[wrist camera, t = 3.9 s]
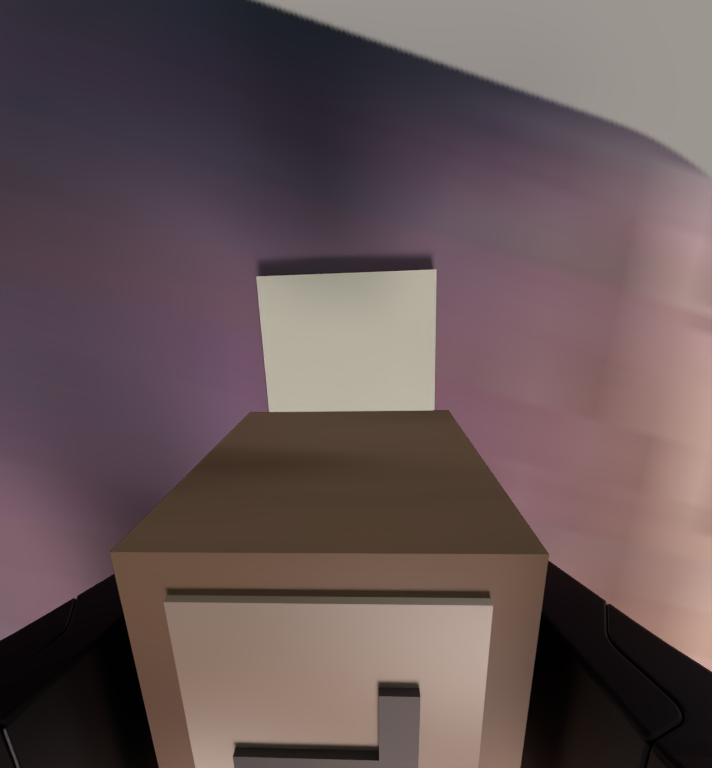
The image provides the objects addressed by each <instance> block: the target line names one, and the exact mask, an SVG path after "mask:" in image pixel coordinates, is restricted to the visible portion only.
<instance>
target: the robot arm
mask: <svg viewBox="0 0 712 768" xmlns="http://www.w3.org/2000/svg"><path fill="white" fill-rule="evenodd" d="M0 768H159V766H158V761H157V757H156V753H155V748H154V744H153V740H152V735H151V731H150V726H149V722H148V718H147V713H146V709H145V705H144V700H143V696H142V691H141V687H140V683H139V678H138V674H137V670H136V665H135V661H134V656H133V652H132V648H131V643H130V639H129V635H128V630H127V626H126V621H125V617H124V613H123V608H122V604H121V600H120V595H119V591H118V586H117V582H116V578H115V574H113V575H111V576H110V577H108V578H106V579H105V580H103V581H101V582H100V583H98V584H96V585H95V586H93V587H91V588H90V589H88V590H86V591H85V592H83V593H81V594H80V595H78V596H77V599H75V598H73V599H71V600H70V601H68V602H66V603H65V604H63V605H61V606H60V607H58V608H56V609H55V610H53V611H51V612H50V613H48V614H46V615H45V616H43V617H41V618H39V619H38V620H36V621H34V622H32V623H31V624H29V625H27V626H26V627H24V628H22V629H20V630H19V631H17V632H15V633H13V634H12V635H10V636H8V637H6V638H4V639H3V640H1V641H0ZM520 768H712V672H711V671H710V670H708V669H707V668H705V667H703V666H702V665H700V664H699V663H697V662H696V661H694V660H692V659H691V658H689V657H688V656H686V655H685V654H683V653H682V652H680V651H678V650H677V649H675V648H674V647H672V646H671V645H669V644H668V643H666V642H665V641H663V640H662V639H660V638H659V637H657V636H656V635H654V634H653V633H651V632H650V631H648V630H647V629H645V628H644V627H643V626H641V625H640V624H638V623H637V622H635V621H634V620H632V619H631V618H629V617H628V616H627V615H625V614H624V613H622V612H621V611H619V610H618V609H617V608H615V607H614V606H612V605H611V604H607V603H606V601H605V600H604V599H602V598H601V597H599V596H598V595H597V594H595V593H594V592H592V591H591V590H589V589H588V588H587V587H585V586H584V585H582V584H581V583H580V582H578V581H577V580H575V579H574V578H572V577H571V576H570V575H568V574H567V573H565V572H564V571H563V570H561V569H560V568H558V567H557V566H555V565H554V564H553V563H551V562H550V561H548V566H547V574H546V581H545V589H544V596H543V603H542V611H541V618H540V626H539V633H538V641H537V648H536V655H535V663H534V670H533V678H532V685H531V693H530V700H529V707H528V715H527V722H526V730H525V737H524V745H523V752H522V760H521V767H520Z"/></svg>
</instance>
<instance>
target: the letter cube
mask: <svg viewBox="0 0 712 768" xmlns="http://www.w3.org/2000/svg"><path fill="white" fill-rule="evenodd" d="M110 556H111V560H112V565H113V569H114V573H115V578H116V582H117V586H118V591H119V595H120V600H121V604H122V608H123V613H124V617H125V621H126V626H127V630H128V635H129V639H130V643H131V648H132V652H133V656H134V661H135V665H136V670H137V674H138V678H139V683H140V687H141V691H142V696H143V700H144V705H145V709H146V713H147V718H148V722H149V726H150V731H151V735H152V740H153V744H154V748H155V753H156V757H157V761H158V766H159V768H520V767H521V760H522V752H523V745H524V737H525V730H526V722H527V715H528V707H529V700H530V693H531V685H532V678H533V670H534V663H535V655H536V648H537V641H538V633H539V626H540V618H541V611H542V603H543V596H544V589H545V581H546V574H547V566H548V559H549V554H548V552H547V551H546V549H545V548H544V546H543V545H542V544H541V542H540V541H539V539H538V538H537V536H536V535H535V534H534V532H533V531H532V529H531V528H530V526H529V525H528V524H527V522H526V521H525V519H524V518H523V516H522V515H521V514H520V512H519V511H518V509H517V508H516V506H515V505H514V503H513V502H512V501H511V499H510V498H509V496H508V495H507V493H506V492H505V491H504V489H503V488H502V486H501V485H500V483H499V482H498V481H497V479H496V478H495V476H494V475H493V473H492V472H491V471H490V469H489V468H488V466H487V465H486V463H485V462H484V461H483V459H482V458H481V456H480V455H479V453H478V452H477V450H476V449H475V448H474V446H473V445H472V443H471V442H470V440H469V439H468V438H467V436H466V435H465V433H464V432H463V430H462V429H461V428H460V426H459V425H458V423H457V422H456V420H455V419H454V418H453V416H452V415H451V413H450V412H449V410H426V411H324V412H250V413H249V414H248V415H247V416H246V417H245V418H244V419H243V420H242V421H241V422H240V423H239V424H238V425H237V426H236V427H235V428H234V429H233V430H232V431H231V432H230V433H229V434H228V435H227V436H226V437H225V438H224V439H223V440H222V441H221V442H220V443H219V444H218V445H217V446H216V447H215V448H214V449H213V450H212V451H211V452H210V453H209V454H208V455H207V456H206V457H205V458H204V459H203V460H202V461H201V462H200V463H199V464H198V465H197V466H196V467H195V468H194V469H193V470H192V471H191V472H190V473H189V474H188V475H187V476H186V477H185V478H184V479H183V480H182V481H181V482H180V483H179V484H178V485H177V486H176V487H175V488H174V489H173V490H172V491H171V492H170V493H169V494H168V495H167V496H165V497H164V498H163V499H162V500H161V501H160V502H159V503H158V504H157V505H156V506H155V507H154V508H153V509H152V510H151V511H150V512H149V513H148V514H147V515H146V516H145V517H144V518H143V519H142V520H141V521H140V522H139V523H138V524H137V525H136V526H135V527H134V528H133V529H132V530H131V531H130V532H129V533H128V534H127V535H126V536H125V537H124V538H123V539H122V540H121V541H120V542H119V543H118V544H117V545H116V546H115V547H114V548H113V549H112V550H111V551H110Z"/></svg>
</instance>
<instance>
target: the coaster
mask: <svg viewBox="0 0 712 768" xmlns="http://www.w3.org/2000/svg"><path fill="white" fill-rule="evenodd" d="M256 278H257V289H258V299H259V310H260V320H261V331H262V341H263V352H264V362H265V372H266V383H267V393H268V404H269V412H324V411H426V410H434V398H435V331H436V269H434V270H409V271H384V272H358V273H333V274H308V275H282V276H257V277H256Z"/></svg>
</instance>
